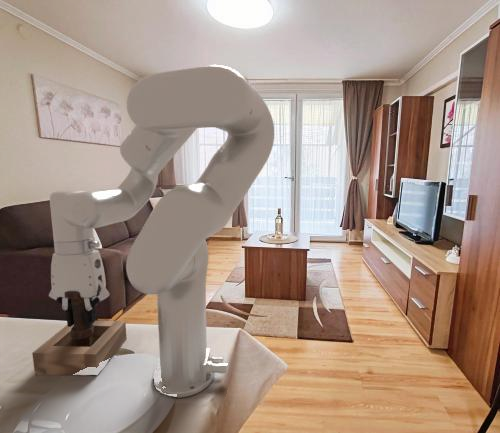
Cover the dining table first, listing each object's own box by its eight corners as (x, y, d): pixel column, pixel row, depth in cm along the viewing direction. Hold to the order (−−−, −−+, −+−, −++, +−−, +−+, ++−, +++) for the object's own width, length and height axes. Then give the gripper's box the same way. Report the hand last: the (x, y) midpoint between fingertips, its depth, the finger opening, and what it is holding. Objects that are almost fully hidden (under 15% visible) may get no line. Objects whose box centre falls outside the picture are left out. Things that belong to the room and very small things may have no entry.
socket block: (126, 339, 74) (125, 321, 73) (97, 376, 61) (95, 354, 60) (75, 338, 75) (73, 320, 74) (34, 374, 61) (32, 352, 60)
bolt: (92, 338, 71) (87, 280, 69) (101, 346, 68) (97, 286, 66) (66, 349, 67) (60, 288, 64) (74, 358, 64) (68, 294, 61)
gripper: (120, 242, 67) (124, 316, 70) (50, 241, 68) (58, 315, 70) (102, 251, 60) (108, 333, 63) (24, 250, 60) (34, 332, 63)
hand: (81, 323), depth 66 cm, fingers closed on bolt, 3 cm apart
